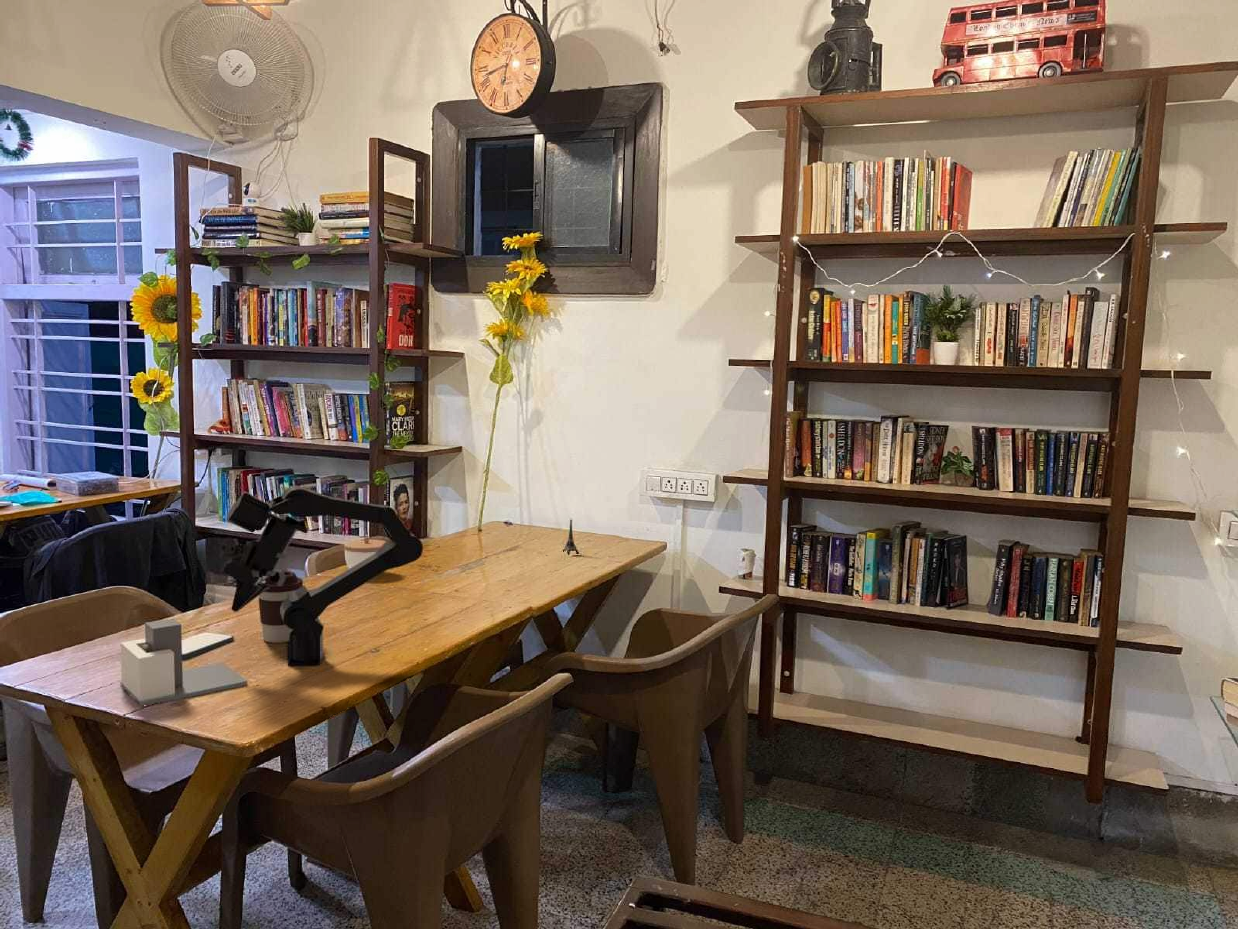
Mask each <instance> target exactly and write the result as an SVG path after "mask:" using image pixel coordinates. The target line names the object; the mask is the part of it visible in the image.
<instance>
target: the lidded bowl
mask: <svg viewBox="0 0 1238 929" xmlns="http://www.w3.org/2000/svg"><path fill="white" fill-rule="evenodd" d="M386 541H387V540H382V539H381V540H380V539H369V536H364V539H358V540H357V539H356V540H352V541H348V542H345V543H344V545H343V546H344V547H343V548H344V559H345V563H346V566H347V568H348V569H350V568H352V567H354V566H355V565H357V564H359V563H360V562H362V561H364V560H365V559H367V558H369V557H370V556H372V555H374V554H375V553H376V552H377V551H378V550H379V549H380V548H381V547H382V545H383V544H384V543H385V542H386Z"/></svg>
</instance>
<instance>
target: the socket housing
mask: <svg viewBox="0 0 1238 929" xmlns="http://www.w3.org/2000/svg"><path fill="white" fill-rule="evenodd" d="M143 645H146V641H145V638H141V639H140V638H139V639H134V640H127V641H122V642H120V664H121V671H120V672H121V681H120V687H121V686H122V687H123V688H125V690H126V691H128V693H129V694H130V695H132V696H133V698H135V700H136V701H137V702H139V704H140V705H142V706H144V705H149V706H153V705H152V704H154V705H156V704H155V703H159V704H161V703H160V702H163V703H168V702H172V701H171V700H173V701H178V700H182V698H183V699H187V698H191V697H196V696H201V695H206V694H211V693H216V692H219V691H224V690H230V689H234V688H239V687H243V686H248V680H247V679H245V678H243V676H241V674H238V673H237V672H235V671H234V670H233V669H231V668H230V667H229V666H227V665H226V664H224V663H223V662H217V663H212V664H207V665H201V666H196V667H191V668H186V669H182V673H183V686H178V687H175V677H174V652H173V651H171V650H170V649H167V650H161V651H156V652H150V653H146V649H145V650H144V649H143ZM122 687H121V688H122ZM123 688H122V689H123ZM125 690H124V691H125ZM126 691H125V692H126ZM128 693H127V694H128ZM129 694H128V695H129ZM130 695H129V696H130ZM133 698H132V699H133ZM177 699H178V700H177ZM135 700H134V701H135ZM136 701H135V702H136ZM167 701H168V702H167ZM137 702H136V703H137ZM139 704H138V705H139ZM140 705H139V706H140ZM144 707H145V706H144Z"/></svg>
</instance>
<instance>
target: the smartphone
mask: <svg viewBox="0 0 1238 929" xmlns="http://www.w3.org/2000/svg"><path fill="white" fill-rule="evenodd" d="M233 640H234V641H235V636H234V635H230V634H222V633H215V632H200V633H198V634H195V635H192V636H189V637H186V638H182V661H185V660H188V659H192V658H194V657H196V655H197V656H199V655H201V654H204V653H207V652H209V651H211V650H214V649H216V647H217V648H219V647H222V646H224V645H226V643H227V644H229V643H232V642H234V641H233ZM231 641H232V642H231ZM208 650H209V651H208ZM206 651H207V652H206Z"/></svg>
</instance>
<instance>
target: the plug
mask: <svg viewBox="0 0 1238 929" xmlns="http://www.w3.org/2000/svg"><path fill="white" fill-rule="evenodd" d="M144 634H145V635H144V636H145V637H144V639H145V641H146V645H143V649H144V650H145V649H146V653H150V652H156V651H161V650H167V649H170V650H171V651H173V652H174V677H175V687H178V686H183V673H182V670H183V660H182V640H183V638H182V637H183V636H182V623H180V622H179V621H177V620H176V619H174V618H168V619H161V620H156V621H155V620H154V621H149V622H148V621H147V622H145V623H144Z"/></svg>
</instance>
